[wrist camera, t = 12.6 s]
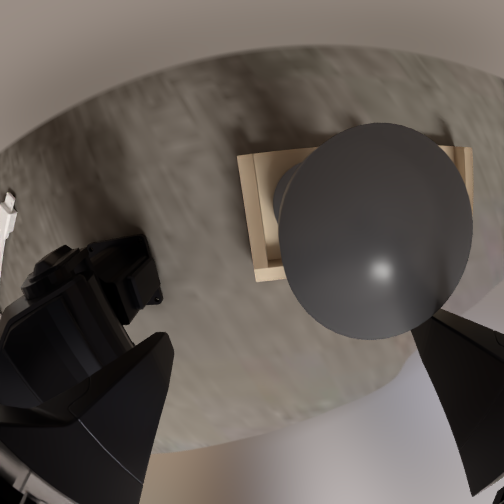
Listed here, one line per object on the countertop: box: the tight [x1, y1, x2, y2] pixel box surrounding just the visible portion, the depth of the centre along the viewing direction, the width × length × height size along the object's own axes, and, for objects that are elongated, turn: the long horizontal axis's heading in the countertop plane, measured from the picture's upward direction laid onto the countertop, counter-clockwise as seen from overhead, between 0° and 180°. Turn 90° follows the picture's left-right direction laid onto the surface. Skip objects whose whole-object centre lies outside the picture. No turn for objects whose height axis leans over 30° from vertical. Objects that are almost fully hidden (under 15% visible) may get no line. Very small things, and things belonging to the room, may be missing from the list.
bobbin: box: [273, 123, 473, 340], centre depth 13 cm, size 6×6×13 cm
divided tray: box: [237, 145, 473, 282], centre depth 19 cm, size 19×9×3 cm, turn 98°
